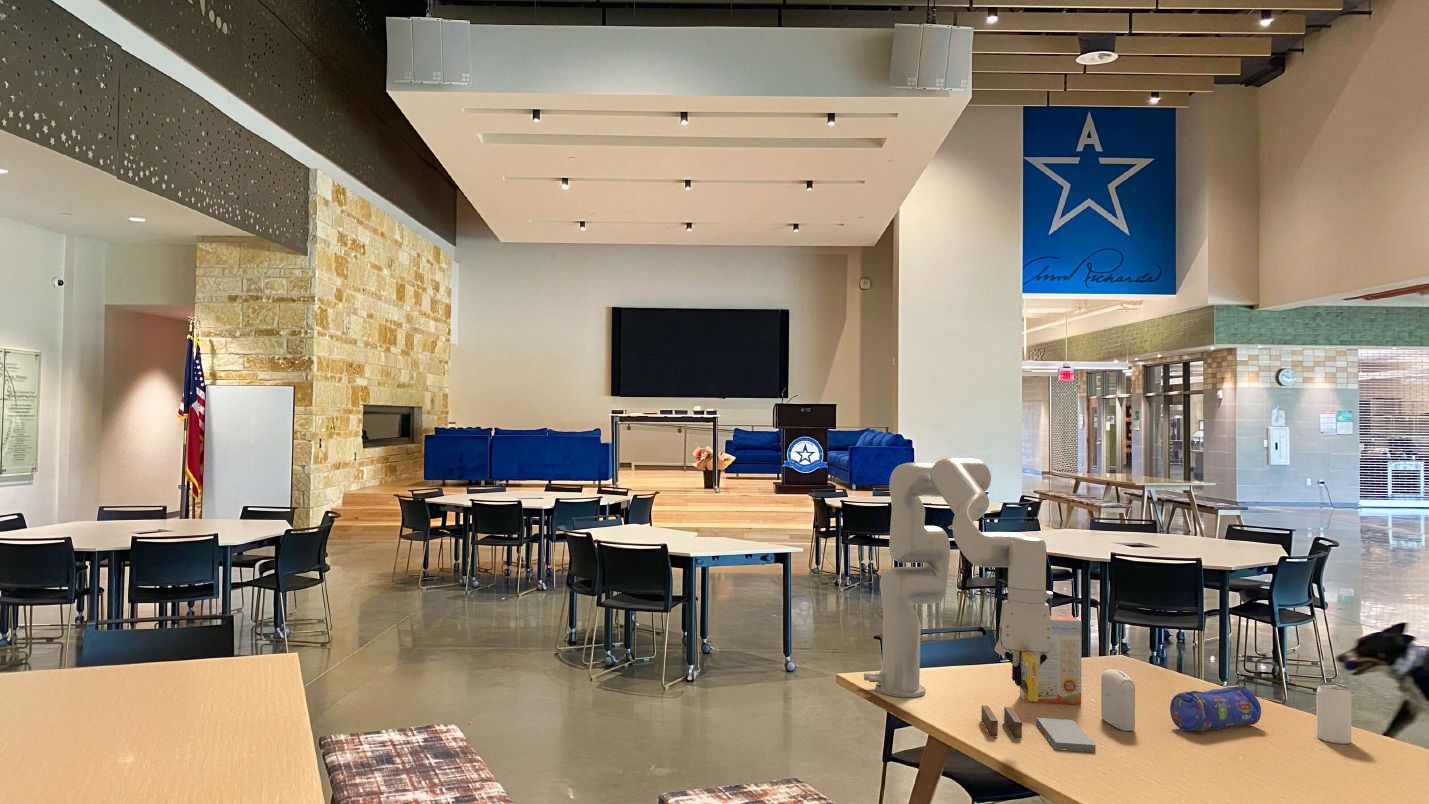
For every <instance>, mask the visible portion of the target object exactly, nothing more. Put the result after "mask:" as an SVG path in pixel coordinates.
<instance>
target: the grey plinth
mask: <svg viewBox="0 0 1429 804" xmlns="http://www.w3.org/2000/svg"><path fill="white" fill-rule="evenodd" d="M1036 725H1038V726H1039V727H1040V728H1039V727H1038V726H1037V727H1038V728H1039V730H1040V729H1041V730H1042V731H1041V730H1040V731H1041V732H1042V733H1043V735H1044V734H1045V735H1046V736H1047V737H1046V736H1045V735H1044V736H1045V737H1046V739H1047V738H1048V739H1049V740H1050V741H1049V740H1048V739H1047V740H1048V741H1049V742H1051V743H1052V744H1053V745H1052V744H1051V743H1050V744H1051V745H1052V747H1053V746H1054V747H1055V748H1056V749H1066V750H1065V751H1069V750H1078V751H1077V752H1083V751H1088V752H1087V753H1096V752H1097V750H1096V747H1097V745H1096V744H1095V742H1093V740H1092V739H1091V738H1090V737H1089V736H1088V735H1087V734H1086V733H1085V731H1083V729H1082V728H1081V727H1080V726H1079V725H1078V724H1077V723H1076V722H1075V721H1074V720H1073V719H1063V718H1062V719H1061V718H1046V717H1036ZM1054 747H1053V748H1054ZM1055 748H1054V749H1055ZM1056 749H1055V750H1056Z"/></svg>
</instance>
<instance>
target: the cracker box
mask: <svg viewBox="0 0 1429 804" xmlns="http://www.w3.org/2000/svg"><path fill="white" fill-rule="evenodd" d="M1050 617H1051V628H1052V644H1053V646H1054V648H1055V651H1056V653H1057V655H1056V656H1055V657H1052V658H1050V659H1047V660H1045V661H1044V662H1043V663H1042V664H1041V665H1040V667H1039V668H1038V701H1029V699H1028V698H1027V696H1026V695H1025V694H1024V692H1023V691H1022V689H1021V688H1020V687H1019V697H1020V698H1021V699H1022V701H1023V702H1025V703H1038V702H1047V703H1046V704H1060V703H1062V705H1065V704H1066V705H1076V704H1079V705H1082V621H1081V619H1078V618H1076V617H1073V616H1053V615H1050ZM1040 654H1041V653H1040Z"/></svg>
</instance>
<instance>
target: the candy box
mask: <svg viewBox="0 0 1429 804" xmlns="http://www.w3.org/2000/svg"><path fill="white" fill-rule="evenodd" d="M1019 663H1020V667H1021V686H1019V689H1020V688H1021V689H1022V691H1023V692H1024V694H1025V695H1026V696H1027V698H1028V699H1029V701H1038V660H1037V658H1036V657H1035V656H1034V655H1033V654H1032V653H1031V652H1026V651H1023V652H1021V651H1019Z"/></svg>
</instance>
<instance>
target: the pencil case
mask: <svg viewBox="0 0 1429 804" xmlns="http://www.w3.org/2000/svg"><path fill="white" fill-rule="evenodd" d="M1169 712H1170V717H1171V720H1172V722H1173V724H1174V725H1175V726H1176V727H1177V728H1179V730H1182V731H1185V732H1199V731H1207V730H1218V729H1223V728H1232V727H1238V726H1244V725H1245V726H1251V725H1256V724H1257V723H1258V722H1259V721H1260V719H1261V716H1262V706H1261V704H1260V701H1259V700H1258V698H1257V697H1256V696H1255V694H1253V692H1252V691H1251V690H1250V689H1248V688H1247V687H1246V686H1243V684H1241V683H1240V684H1238V685H1227V686H1226V687H1223V688H1212V689H1210V690H1204V691H1198V690H1191V691H1184V692H1179V693H1177V694H1175V695H1174V696H1173V698H1172V699H1171V701H1170V707H1169Z"/></svg>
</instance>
